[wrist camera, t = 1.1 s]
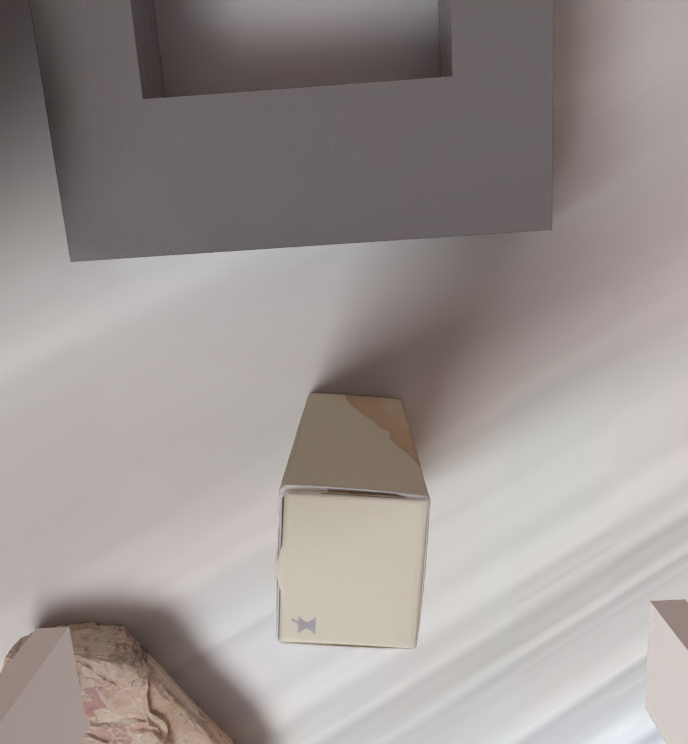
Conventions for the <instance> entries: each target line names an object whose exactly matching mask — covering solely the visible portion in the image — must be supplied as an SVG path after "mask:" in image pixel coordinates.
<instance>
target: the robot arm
mask: <svg viewBox="0 0 688 744" xmlns="http://www.w3.org/2000/svg"><path fill="white" fill-rule="evenodd" d="M645 708H646V710H647V712H648V713H649V715H650V717H651V718H652V720H653V722H654V724H655V725H656V727H657V729H658V730H659V732H660V734H661V735H662V737H663V739H664V741H665V742H666V744H688V602H687V601H686V600H663V601H650V609H649V631H648V654H647V676H646V698H645ZM87 729H88V728H87V722H86V717H85V711H84V706H83V700H82V695H81V689H80V684H79V678H78V673H77V667H76V662H75V656H74V651H73V646H72V640H71V635H70V629H69V627H57V628H36V630H35V631H34V632H33V633H32V635H31V636H30V637H29V638H28V640H27V641H26V642H25V643H24V645H23V646H22V647H21V648H20V650H19V651H18V652H17V653H16V655H15V656H14V657H13V658H12V660H11V661H10V662H9V663H8V665H7V666H6V667H5V668H4V670H3V671H2V672H1V673H0V744H80V742H81V740H82V739H83V737H84V735H85V733H86V731H87Z"/></svg>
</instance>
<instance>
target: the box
mask: <svg viewBox="0 0 688 744" xmlns="http://www.w3.org/2000/svg"><path fill="white" fill-rule="evenodd" d="M429 510H430V497H429V494H428V491H427V488H426V485H425V481H424V477H423V473H422V470H421V467H420V463H419V459H418V456H417V452H416V449H415V446H414V442H413V439H412V435H411V431H410V427H409V424H408V420H407V417H406V414H405V411H404V407H403V404H402V401H401V400H400V399H392V398H382V397H371V396H359V395H343V394H324V393H311V394H309V396H308V398H307V401H306V404H305V408H304V411H303V414H302V417H301V420H300V423H299V427H298V430H297V433H296V437H295V440H294V443H293V447H292V450H291V453H290V456H289V460H288V463H287V466H286V469H285V473H284V476H283V480H282V483H281V487H280V490H279V501H278V518H277V542H276V572H275V632H274V636H275V640H276V642H277V643H279V644H294V645H310V646H325V647H344V648H365V649H398V650H413V649H415V648H416V645H417V639H418V632H419V624H420V617H421V608H422V598H423V590H424V579H425V568H426V556H427V543H428V528H429Z"/></svg>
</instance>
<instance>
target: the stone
mask: <svg viewBox="0 0 688 744" xmlns="http://www.w3.org/2000/svg"><path fill="white" fill-rule="evenodd" d="M57 627H69V629H70V635H71V640H72V646H73V651H74V656H75V662H76V667H77V673H78V678H79V684H80V689H81V695H82V700H83V706H84V711H85V717H86V722H87V728H88V729H87V731H86V733H85V735H84V737H83V739H82V740H81V742H80V744H236V743H235V742H234V741H233V740H231V739H230V737H229V736H228V735H227V734H226V733H225V732H224V731H223V730H222V729H221V728H220V727H219V726H218V725H217V724H216V723H215V722H214V721H213V720H212V719H211V718H210V717H209V716H208V715H207V714H206V713H205V712H204V711H203V710H202V709H201V708H200V707H199V706H198V705H197V704H196V703H195V702H194V701H193V700H192V699H191V698H190V697H189V696H188V695H187V694H186V693H185V692H184V691H183V689H182V688H181V687H180V686H179V685H178V684H177V683H176V682H175V681H174V680H173V679H172V678H171V677H170V676H169V674H168V673H167V672H166V671H165V670H164V669H163V668H162V667H161V666H160V664H159V663H158V662H157V661H156V660H155V659H154V658H153V657H152V656H151V655H150V654H149V653H148V652H147V651H145V650H143V647H142V646H141V645H140V644H139V643H138V641H137V640H136V639H135V638H134V637H133V636H132V635H131V634H130V633H129V632H128V631H127V630H126V629H125V627H124V626H123V625H121V626H119V625H108V626H104V625H102V624H96V623H95V622H87V623H82V624H77V623H76V624H69V625H68V626H66V625H59V626H56V627H54V628H57ZM31 635H32V633H31V634H30V635H28V636H25V637H23V638H21V639H20V640H19V641H18V642H17V643H16V644H15V645H14V646H13V647H12V648H11V650H10V651H9V653H8V655H7V656H6V657H5V661H4V666H3V669H2V671H3V670H4V668H5V667H6V666H7V665H8V663H9V662H10V661H11V660H12V658H13V657H14V656H15V655H16V653H17V652H18V651H19V650H20V648H21V647H22V646H23V645H24V643H25V642H26V641H27V640H28V638H29V637H30V636H31Z"/></svg>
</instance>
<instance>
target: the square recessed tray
mask: <svg viewBox="0 0 688 744" xmlns="http://www.w3.org/2000/svg"><path fill="white" fill-rule="evenodd" d="M553 1H554V0H439V33H440V67H441V77H436V78H423V79H409V80H396V81H382V82H369V83H355V84H341V85H328V86H314V87H301V88H287V89H274V90H260V91H247V92H233V93H220V94H206V95H193V96H179V97H166V98H165V96H164V88H163V80H162V71H161V63H160V55H159V46H158V38H157V30H156V21H155V13H154V5H153V0H29V4H30V10H31V16H32V22H33V29H34V35H35V41H36V47H37V54H38V60H39V66H40V73H41V79H42V85H43V91H44V98H45V104H46V110H47V116H48V123H49V129H50V135H51V141H52V148H53V154H54V160H55V167H56V173H57V179H58V185H59V192H60V198H61V204H62V210H63V217H64V223H65V229H66V235H67V242H68V248H69V254H70V261H71V262H76V261H91V260H106V259H121V258H136V257H151V256H166V255H181V254H196V253H211V252H226V251H241V250H256V249H271V248H286V247H301V246H316V245H331V244H346V243H361V242H376V241H391V240H406V239H421V238H436V237H451V236H466V235H481V234H496V233H511V232H526V231H541V230H552V148H553Z"/></svg>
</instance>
